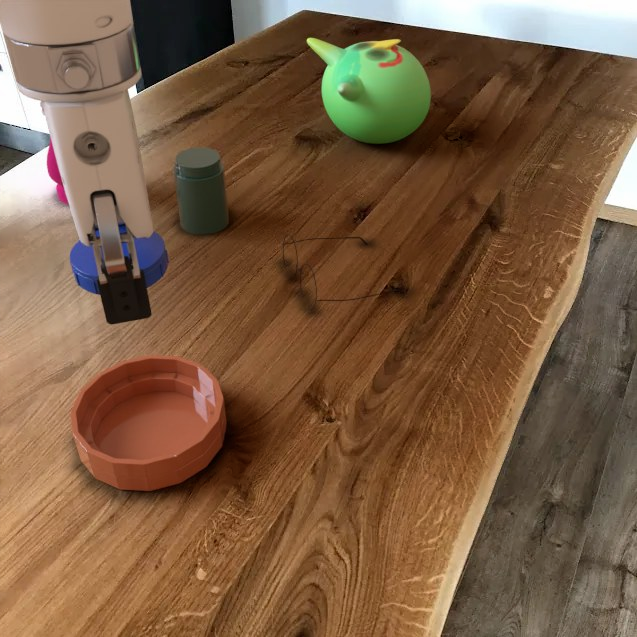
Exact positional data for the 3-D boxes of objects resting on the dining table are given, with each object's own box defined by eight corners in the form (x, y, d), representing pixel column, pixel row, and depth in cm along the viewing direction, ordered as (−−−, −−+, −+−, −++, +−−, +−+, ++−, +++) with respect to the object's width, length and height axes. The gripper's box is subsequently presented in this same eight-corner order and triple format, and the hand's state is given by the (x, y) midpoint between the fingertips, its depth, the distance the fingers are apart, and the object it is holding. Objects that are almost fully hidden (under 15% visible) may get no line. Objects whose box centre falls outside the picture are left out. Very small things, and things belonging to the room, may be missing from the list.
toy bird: (444, 152, 110) (456, 54, 100) (340, 170, 105) (342, 70, 96) (394, 106, 123) (401, 15, 113) (299, 120, 118) (298, 27, 109)
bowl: (60, 490, 62) (49, 459, 59) (104, 382, 72) (96, 352, 69) (212, 498, 61) (207, 467, 59) (235, 388, 71) (232, 358, 69)
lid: (176, 245, 57) (173, 226, 56) (156, 298, 52) (152, 278, 51) (90, 242, 58) (86, 223, 57) (61, 294, 52) (56, 275, 51)
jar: (176, 235, 92) (166, 168, 86) (186, 210, 97) (177, 144, 91) (224, 237, 92) (218, 170, 86) (232, 211, 97) (226, 146, 91)
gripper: (153, 103, 39) (191, 352, 50) (125, 9, 52) (160, 223, 63) (6, 121, 37) (79, 373, 49) (14, 18, 50) (71, 237, 62)
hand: (124, 287), depth 56 cm, fingers closed on lid, 6 cm apart
